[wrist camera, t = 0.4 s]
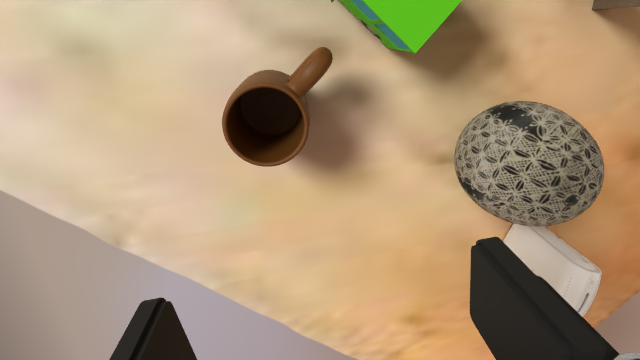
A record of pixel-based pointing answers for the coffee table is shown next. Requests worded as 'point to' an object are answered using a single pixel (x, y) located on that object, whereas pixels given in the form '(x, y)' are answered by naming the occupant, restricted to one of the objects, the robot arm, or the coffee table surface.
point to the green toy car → (401, 19)
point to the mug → (273, 112)
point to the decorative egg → (529, 164)
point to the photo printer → (556, 264)
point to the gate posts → (615, 4)
